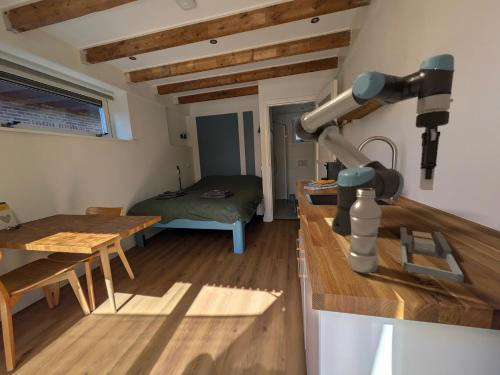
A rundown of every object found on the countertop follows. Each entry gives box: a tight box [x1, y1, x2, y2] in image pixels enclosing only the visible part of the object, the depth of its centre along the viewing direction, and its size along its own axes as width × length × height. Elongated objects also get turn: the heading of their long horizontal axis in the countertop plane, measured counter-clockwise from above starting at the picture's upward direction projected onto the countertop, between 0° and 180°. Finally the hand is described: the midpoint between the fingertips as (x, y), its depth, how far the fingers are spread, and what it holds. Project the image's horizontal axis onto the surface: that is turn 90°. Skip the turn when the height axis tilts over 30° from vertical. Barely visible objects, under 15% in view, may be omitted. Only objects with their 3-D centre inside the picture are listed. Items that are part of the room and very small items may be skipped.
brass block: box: [411, 230, 434, 243], centre depth 60 cm, size 4×4×3 cm
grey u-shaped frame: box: [400, 246, 465, 283], centre depth 49 cm, size 10×11×2 cm
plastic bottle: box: [346, 188, 382, 275], centre depth 48 cm, size 6×7×20 cm
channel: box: [399, 226, 453, 260], centre depth 59 cm, size 10×15×3 cm, turn 145°
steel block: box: [413, 237, 435, 254], centre depth 56 cm, size 4×4×3 cm
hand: (425, 188), depth 64 cm, fingers open, 3 cm apart
